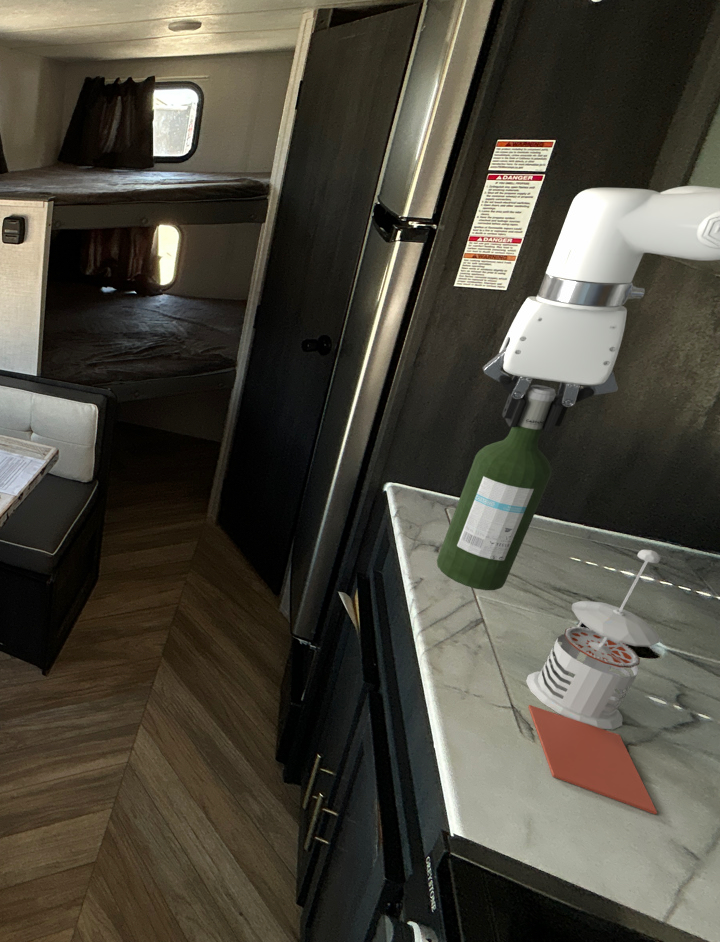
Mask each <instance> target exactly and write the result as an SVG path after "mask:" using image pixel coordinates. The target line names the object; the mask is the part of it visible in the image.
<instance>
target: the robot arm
mask: <svg viewBox="0 0 720 942" xmlns="http://www.w3.org/2000/svg"><path fill="white" fill-rule="evenodd" d="M644 254H654V255H661V256H667V257H673V258H678V259H684V260H690V261H700V262H701V261H706V262H707V261H708V262H709V261H710V262H711V261H720V187H711V186H701V185H684V186H676V187H673V188H669V189H666V190H663V191H660V192H659V191H656V190H653V189H646V188H634V187H633V188H631V187H591V188H587V189H584V190H582V191H580V192H578V194H576V195H575V197H574V198H573V200H572V202H571V204H570V206H569V209H568V212H567V215H566V216H565V220H564V223H563V225H562V228H561V231H560V234H559V236H558V239H557V241H556V245H555V247H554V250H553V253H552V255H551V258H550V260H549V263H548V266H547V267H546V271H545V273H544V277H543V279H542V282H541V285H540V287H539V290H538V292H537V295H536V296H527V298H526V299H525V301H523V304H522V305H521V306H520V309H519V310H518V312H517V313H516V316H515V317H514V319H513V321H512V323H511V325H510V327H509V329H508V331H507V334H506V336H505V337H504V340H503V342H502V345H501V347H500V349H499V352H498V353H497V354H496V355H495V356H494V357H493V358H492V359H490V360H489V361H488V362H487V363H486V364H485V365H483V366H482V368H481V369H482V371H483V374H485V375H487V376H488V377H490V378H491V379H493V380H494V381H497V382H498V383H500V384H501V386H502V387H503V388H504V389H505V391H507V392H508V397H507V399H506V403H505V405H504V407H503V410H502V414H501V415H502V418H503V419H505V422H506V424H507V425H508V427H509V428H512V427H517V426H518V423H519V421H520V418H521V416H522V413H523V411H524V408H525V406H526V403H527V401H526V400H525V397H526V395H525V394H526V391H527V389H528V388H530V386H531V385H530V384H531V383H532V381H533V380H535V379H537V380H543V381H551V382H558V383H559V384H558V388H557V390H556V391H557V392H556V396H555V398H554V400H553V401H552V403H551V406H550V409H549V411H548V414H547V417H546V420H545V423H544V426H543V428H542V431H543V432H544V433H546V434H549V435H550V434H553V432H554V430H555V427H557V428H559V427H560V426H561V425H562V422H563V421H564V418H565V416H566V413H567V411H568V409H569V407H573V406H575V404H576V403H578V402H581V401H583V400H586V399H588V398H590V397H592V396H599V395H605V394H610V393H614V392H617V391H618V390H619V386H618V383H617V380H616V377H615V374H614V371H613V368H614V367H615V364H616V360H617V357H618V355H619V351H620V348H621V344H622V340H623V337H624V333H625V327H626V321H627V312H628V309H627V308H626V307H625V306H624V305H625V304H626V302H627V301H628V300H641V299H642V298H643V297H644V295H645V288H644V287H637V286H636V285H634V283H633V279H634V276H635V274H636V272H637V271H638V268H639V265H640V262H641V261H642V258H643V256H644ZM502 368H503V370H504V371H505V372H504V371H503V370H502ZM510 375H513V376H512V377H511V376H510Z"/></svg>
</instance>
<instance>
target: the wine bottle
mask: <svg viewBox="0 0 720 942" xmlns="http://www.w3.org/2000/svg"><path fill="white" fill-rule="evenodd" d="M556 395H557V393H556V389H555V388H553V387H550V386H546V385H540V384H531V385H529V387H528V388H527V390H526V392H525V400H526V401H527V403H526V406H525V408H524V411H523V413H522V416H521V418H520V421H519V423H518V426H517V427H510V430H509V432H508V434H507V436H506V437H505V438H503V440H499V441H496V442H493V443H490V444H488V445H485V446H483V447H482V448H481V449H479V451H478V452H477V453H476V454H475V456H474V458H473V462H472V464H471V467H470V470H469V472H468V475H467V477H466V480H465V483H464V486H463V488H462V491H461V494H460V497H459V499H458V502H457V505H456V508H455V510H454V513H453V515H452V518H451V521H450V523H449V526H448V529H447V531H446V534H445V537H444V540H443V542H442V545H441V548H440V550H439V553H438V556H437V559H436V564H437V567H438V569H439V570H440V572H441V573H442V574H443V575H445V576H446V577H447V578H449V579H450V580H453V581H454V582H455V583H458V584H461V585H463V586H465V587H469V588H472V589H475V590H481V591H496V590H500V589H502V588H503V587H504V585H505V584H506V582H507V579H508V577H509V575H510V572H511V570H512V567H513V565H514V563H515V561H516V558H517V556H518V553H519V551H520V549H521V546H522V544H523V542H524V539H525V537H526V535H527V533H528V531H529V527H530V526H531V523H532V520H533V518H534V516H535V513H536V512H537V509H538V506H539V504H540V502H541V499H542V497H543V496H544V493H545V491H546V489H547V486H548V484H549V481H550V479H551V476H552V472H553V470H552V466H551V463H550V461H549V460H548V458H547V457H546V456H545V454H544V453H543V452H542V451H541V450H540V449H539V439H540V437H541V434H542V431H543V429H542V428H543V426H544V423H545V420H546V417H547V414H548V411H549V409H550V406H551V403H552V401H553V400H554V398H555V396H556Z"/></svg>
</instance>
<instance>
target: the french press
mask: <svg viewBox="0 0 720 942" xmlns="http://www.w3.org/2000/svg"><path fill="white" fill-rule="evenodd" d="M636 557H638V558H639V559H640V560H642V561H644V562H643V563H642V566H641V568H639V569H640V570H639V571H638V573H637V575H636V577H635V578H634V581H633V582H632V584H631V586H630V588H629V590H628V592H627V594H626V596H625V598H624V600H623V602H622V603H621V605H620V607H619V606H615V605H612V604H609V603H606V602H600V601H592V600H591V601H590V600H589V601H587V600H580V601H576V602H573V603H572V604H571V610H572V613H573V614H574V615H575V617H576V618H577V620H578V621H579V623H578V624H577V626H571V627H568V628H566V629H565V631H564V633H563V634H561V635H560V636H558V637H557V638H556V640H555V642H554V646H552V648H551V650H550V652H549V654H548V656H547V660H546V661H545V662H544V664H543V666H542V668H541V670H540V671H535V672H531V673H529V674H528V675H527V677H526V680H525V683H526V684H527V686H528V688H529V691H530V692H531V693H532V694H533V695H534V696H535V697H536V698H537V699H538V700H539V701H540V702H541V703H542V704H543V705H545V706H546V707H548V708H549V709H551V710H552V711H554V712H555V713H556V714H558V715H562V716H565V717H568V718H571V719H574V720H577V721H580V722H583V723H586V724H589V725H592V726H595V727H598V728H601V729H604V730H616V729H617V728H619V727H621V726H623V715H622V714H621V712H620V710H619V707H620V706H621V704H622V702H623V700H624V698H625V697H626V695H627V693H628V691H630V688H631V686H632V685H633V683H634V681H635V680H636V678H637V676H638V672H639V670H640V669H639V667H638V666H639V665H640V660H641V658H640V657H639V655H638V654H637V653H636V651H634V649H632V648H631V647H629V646H633V647H643V648H644V647H645V648H648V647H651V646H654V645H656V644H659V643H660V635H659V634H658V633H657V632H656V630H655V629H654V628H653V627H652V626H651V625H649V624H648V623H647V622H646V621H645V620H643V619H642V618H640V617H638V615H635V614H634V613H633V612H631V611H628V610H626V609H624V607H625V606H626V604H627V601H628V599H629V598H630V596H631V595H632V592H633V591H634V590H635V589H634V588H635V587H636V585H637V584H638V582H639V579H640V578H641V576H642V574H643V572H644V570H645V568H646V567H647V565H648V563H650V564H659V563H660V561H661V560H662V559H661V558H662V557H661V556H660V555H659V554H658V553H657V551H655V550H652V549H641V550H639V551H638V553H637V556H636ZM581 625H584V626H585V627H584V626H583V627H582V626H581ZM560 643H561V644H560ZM580 653H582V654H584V655H585V658H584V660H583V662H581V661H580V660H577V658H578V656H579V655H580ZM626 668H627V669H628V668H629V669H631V672H632V674H633V675H632V674H631V672H630V671H629V670H627V669H626ZM611 669H615V670H617V671H619V672H621V673H622V674H623V675H625V676H621V675H620V674H618V673H616V672H614V671H612V670H611ZM570 673H571V674H573V675H574V676H573V675H570ZM616 690H618V691H619V692H616Z"/></svg>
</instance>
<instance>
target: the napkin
mask: <svg viewBox="0 0 720 942" xmlns="http://www.w3.org/2000/svg"><path fill="white" fill-rule="evenodd" d="M528 709H529V713H530V716H531V719H532V722H533V724H534V727H535V731H536V733H537V736H538V738H539V739H538V740H539V741H540V744H541V748H542V750H543V753H544V756H545V759H546V762H547V764H548V767H549V770H550V774H551V777H553V778H555V779H558V780H561V781H563V782H566V783H569V784H571V785H574V786H577V787H579V788H582V789H585V790H588V791H590V792H594V793H595V794H599V795H601V796H604V797H606V798H609V799H612V800H615V801H617V802H620V803H623V804H626V805H629V806H632V807H634V808H637V809H639V810H642V811H645V812H646V813H647V812H648V813H650V814H653V815H657V814H658V811H657V809H656V807H655V804H654V802H653V801H652V798H651V797H650V795H649V792H648V790H647V788H646V786H645V784H644V782H643V779H642V778H641V776H640V774H639V771H638V770H637V768H636V766H635V763H634V761H633V760H632V757H631V755H630V753H629V752H628V749H627V747H626V745H625V743H624V741H623V738H622V736H621V735H620V734H619V733H615V732H612V731H610V730H608V729H601V728H598V727H595V726H592V725H589V724H586V723H583V722H580V721H577V720H574V719H571V718H568V717H565V716H563V715H560V714H559V713H556V712H553V711H550V710H547V709H543V708H540V707H537V706H534V705H532V704H528Z"/></svg>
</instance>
